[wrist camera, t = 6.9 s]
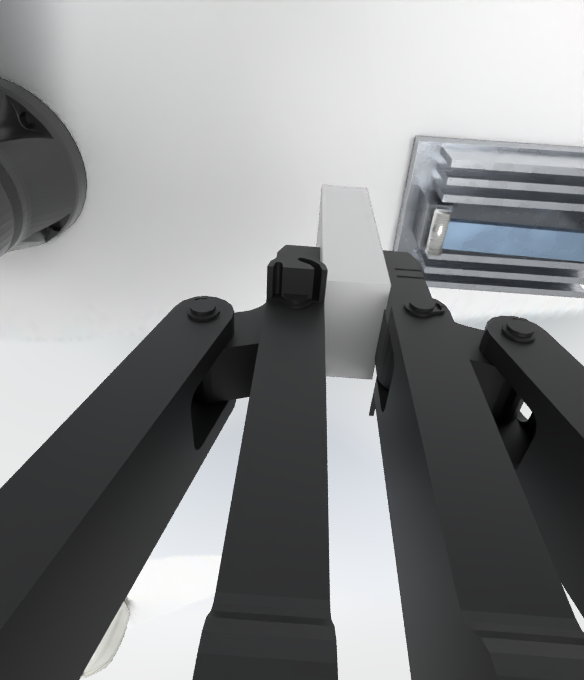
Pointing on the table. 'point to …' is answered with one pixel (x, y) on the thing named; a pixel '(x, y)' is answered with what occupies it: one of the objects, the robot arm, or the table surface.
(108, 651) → the vase
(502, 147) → the heatsink
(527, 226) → the blue long flat bar
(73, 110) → the table surface
